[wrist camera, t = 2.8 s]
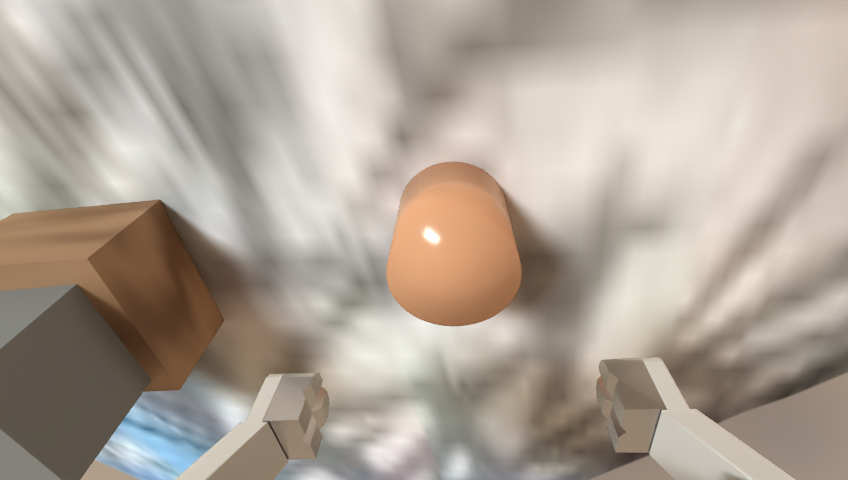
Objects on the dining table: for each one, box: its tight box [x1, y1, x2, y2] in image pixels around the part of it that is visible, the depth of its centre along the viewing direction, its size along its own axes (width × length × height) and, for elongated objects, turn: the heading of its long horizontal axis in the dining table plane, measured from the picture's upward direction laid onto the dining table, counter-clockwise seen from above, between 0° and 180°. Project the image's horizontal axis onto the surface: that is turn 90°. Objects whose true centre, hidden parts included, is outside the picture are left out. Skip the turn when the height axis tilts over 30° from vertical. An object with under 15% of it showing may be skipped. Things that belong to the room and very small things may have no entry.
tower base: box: [0, 200, 224, 391], centre depth 21 cm, size 8×8×5 cm
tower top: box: [0, 284, 151, 480], centre depth 16 cm, size 6×6×5 cm
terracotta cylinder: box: [386, 162, 522, 326], centre depth 17 cm, size 5×5×5 cm
